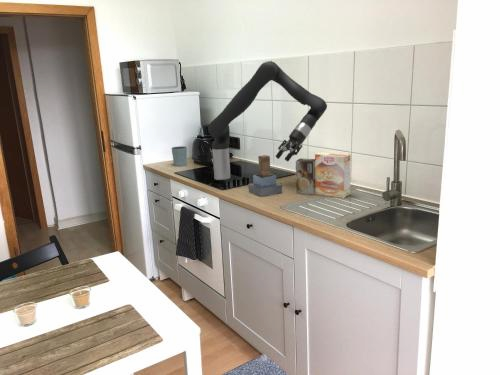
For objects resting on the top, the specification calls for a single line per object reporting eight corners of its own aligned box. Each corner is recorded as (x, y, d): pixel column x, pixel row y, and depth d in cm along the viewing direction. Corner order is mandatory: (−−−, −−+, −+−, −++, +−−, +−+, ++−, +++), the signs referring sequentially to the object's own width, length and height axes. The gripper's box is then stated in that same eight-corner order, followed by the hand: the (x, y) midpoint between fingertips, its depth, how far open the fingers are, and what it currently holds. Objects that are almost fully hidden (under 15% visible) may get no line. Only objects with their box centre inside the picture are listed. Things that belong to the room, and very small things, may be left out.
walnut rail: (259, 184, 210) (258, 156, 206) (266, 182, 211) (265, 155, 208) (263, 185, 206) (262, 157, 203) (270, 184, 208) (269, 156, 204)
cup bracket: (248, 191, 212) (247, 175, 210) (269, 187, 218) (268, 171, 215) (260, 197, 202) (260, 179, 200) (282, 192, 207) (281, 175, 205)
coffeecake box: (314, 194, 202) (314, 153, 197) (321, 190, 208) (321, 151, 203) (344, 198, 193) (344, 156, 188) (350, 194, 199) (351, 153, 194)
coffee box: (318, 191, 206) (318, 159, 202) (314, 195, 201) (313, 161, 197) (300, 190, 211) (300, 158, 207) (295, 193, 205) (295, 160, 201)
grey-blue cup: (175, 163, 291) (173, 146, 288) (189, 163, 290) (188, 145, 287) (171, 166, 281) (169, 148, 278) (186, 166, 280) (184, 148, 277)
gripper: (287, 127, 217) (269, 152, 214) (304, 129, 205) (284, 156, 202) (296, 136, 220) (278, 161, 218) (313, 139, 208) (294, 165, 206)
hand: (281, 159), depth 210 cm, fingers open, 8 cm apart
